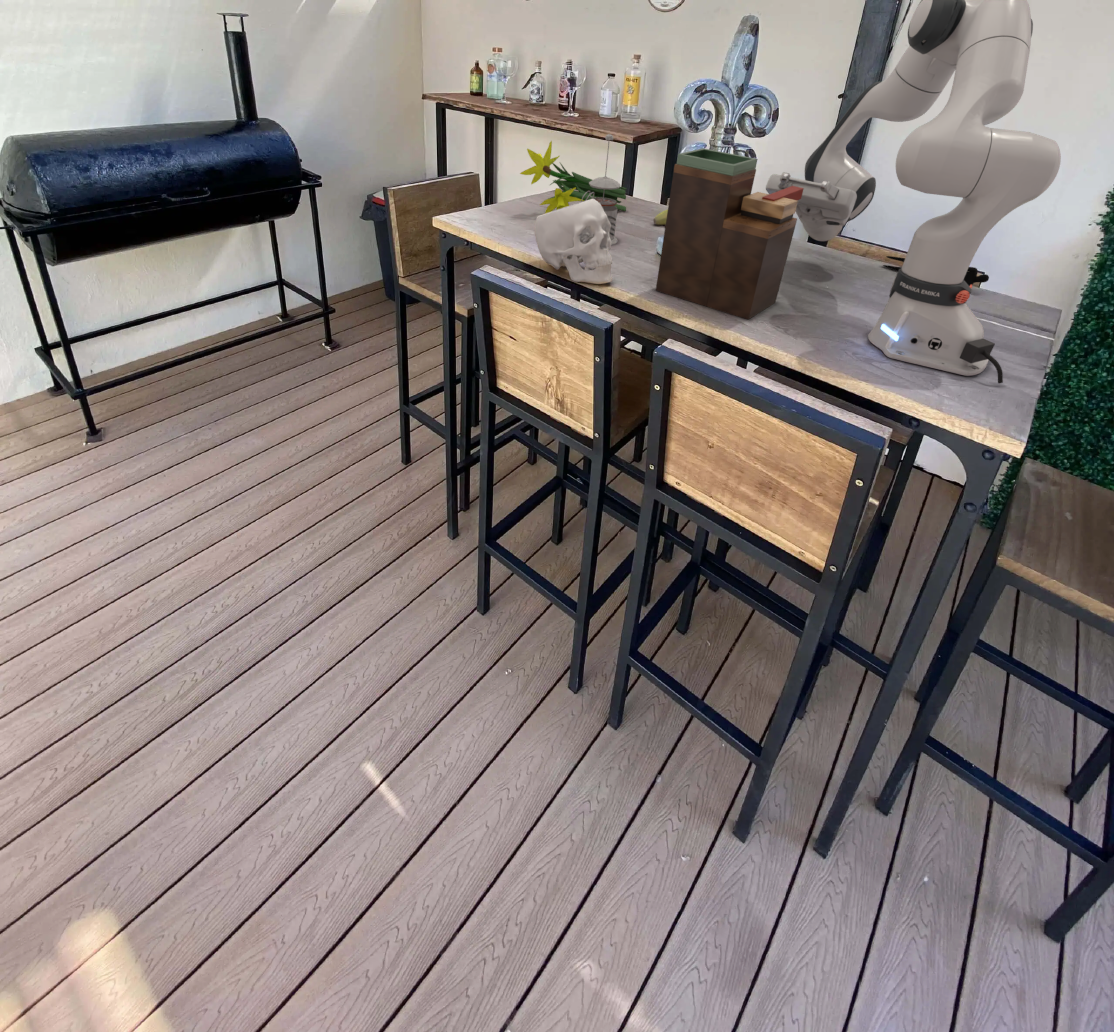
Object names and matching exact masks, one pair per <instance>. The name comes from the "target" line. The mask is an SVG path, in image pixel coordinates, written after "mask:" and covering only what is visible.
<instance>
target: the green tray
mask: <svg viewBox="0 0 1114 1032" xmlns="http://www.w3.org/2000/svg"><path fill="white" fill-rule="evenodd" d="M676 164H678V165H683V166H687V167H692V168H697V169H701V170H706V171H711V172H716V173H720V174H725V175H730V176H734V175H738V174H741V173H744V172H748V171H751V170H754V169H756V170H757V165H758V158H756V157H750V156H745V155H741V154H740V155H739V154H735V153H731V152H725V151H719V150H715V149H709V148H705V147H703V148H698V149H694V150H689V151H684V152H681V153H678V154H677V159H676Z"/></svg>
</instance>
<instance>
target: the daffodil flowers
mask: <svg viewBox="0 0 1114 1032" xmlns="http://www.w3.org/2000/svg"><path fill="white" fill-rule="evenodd" d="M552 149H553V141H552V140H550V142H549V144H548V147H547V149H546V151H545V153H544V156H542V154H541V153H537V152H535V151H533V150H531V149H530V148H527V149H526V151H527V154H528V155H529V158H530V159H531V161H532V162H533V163H534V164H535V165H534V166H531V167H529V168H527V169H524V170H523V171H521V172H520V173H519V174H520V175H524V176H532V175H533V178H532V180H531V183H530V185H533V184H535V183H538V182H539V180H540V179H541V178H542V176H544V177H545V178H547V179H550V177H555V178H557V179H553V180H552V182H551V183H550V184H549V186H551V185H553V184H556V185H557V186H558V187H555V188H554V196H551V197H548V198H547V199H544V200H543V201H542V202H541V203H539V206H545V205H547V207H546V209H545V211H544V214H546V213H549V212H552V211H555V210H558V209H561V208H564V207H567V206H570V203H572V202H574V203H575V202H581V200H582V197H583V195H584V194H585V193H586V192H587V191H590V192H591V193H592V192H594V193H592V194H591V196H592V197H593V194H594V197H593V198H595V197H599V198H600V197H603V193H604V198H608V199H613V200H616V201H617V204H616V205H613V206H615V207H617V211H619V210H620V211H623V212H627V206H625V205H621V203H622V201H621V200H618V198H619V199H622V200H626V199H627V195H626V190H628V188H627V187H623V186H620V188H618V189H610V190H607V189H605V191H604V189H597V188H593V187H591V186H590V185H589V182H590V181H592V180H593V179H592V178H589V177H587V176H584V175H581V174H578V173H577V172H574V171H571V174H570V173H569V172H568V171H567V169H566V168H565V166H564V165H563V164H562V162H559V164H560V166H561V168H560V167H559V166H558V165H557V164H555V162H556V161H557V160H558V159H559V157H560V156H561V155H558V156H555V157H552V158H551V156H552ZM551 165H552V166H553V167H554V168H555V170H557V171H558V172H557V171H555V170H553V169H551ZM590 192H587V193H586V194H585V196H584V197H583V200H582V202H583V201H585V200H586V199H587V197H588V195H589V194H590ZM592 197H590V196H589V197H588V199H587V200H590V199H591V198H592Z"/></svg>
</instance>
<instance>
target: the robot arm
mask: <svg viewBox="0 0 1114 1032" xmlns="http://www.w3.org/2000/svg"><path fill="white" fill-rule="evenodd" d="M1033 30H1034V22H1033V19H1032V15H1031V8H1030V3H1029V2H1028V0H920V2H919V4H917V6H916V9H915V10H914V11H913V14H912V16H911V19H910V22H909V25H908V28H907V42H908V46H907V48H906V50H904V51H905V52H904V53H903V54H902V56H901V57H900V59H899V61H898V62H897V64H896V65H895V67H894V69H893V70H892V71H891V73H889V75H888V76H887V77H886V78H884V79H883V80H882V81H875V82H873V83H871V84H870V85H869V86H868V87H867V88H866V89H864V91H862V93H860V95H859V96H858V97H856V99H855V101H853V103H852V105H850V107H849V108H848V109H847V111H846V112H845V113H844V115H843V116H842V117H841V119H840V120H839V121H838V123H837V124H836V125H835V126H834V128H833V129H832V130H831V131H830V133H829V134H828V135H827V137H826V138H825V139H824V141H822V142H821V144H820V145H819V146H818V147H817V148H816V149H815V150H814V151H813V152H812V153H811V155H810V156H809V157H808V158H807V160H806V162H805V164H804V179H800V178H796V177H791V174H790V173H789V172H784V171H783V172H782V173H781V174H776V173H773V174H771V175H770V176H769V178H768V180H767V182H766V185H765V191H766V192H767V194H772V193H775V192H777V191H780V190H783V189H786V188H788V187H791V186H796V187H800V188H804V189H803V193H802V197H801V199H800V200H797V201H798V203H797V207H796V211H795V214H796V215H797V218H798V220H799V221H800V223H801V224H802V227H803V229H804V230H805V232H806V233H807V234H808V236H809V237H810V238H811V239H813V240H815V241H818V242H829V241H830V240H833V239H834V238H836V237H837V236H838V235H839V234H840V233H841V231H842V229H843V227H844V226H845V225H846V224H847V223H848V222H850V221H853V220H854V219H856V218H857V217H858V216H860V215H861V214H862V213H863V212H864V211H866V209H867V208H868V206H869V205H870V204H871V203H872V201H873V199H874V197H875V192H876V188H877V180H876V178H875V177H874V176H873V175H872V174H871V173H870V172H869V171H868V170H867V169H865V168H864V167H863V166H862V165H860V164H859V162H857V161H855V160H854V159H853V158H852V156H850V155H849V154H848V152H847V149H846V148H847V145H848V144H849V143H850V142H851V140H852V139H853V138H854V137H855V135H856V134H857V133H858V132H859V130H860V129H861V128H862V127H863V125H865V123H867V121H868V120H869V119H871V118H873V119H879V120H883V121H888V122H895V123H904V122H911V121H914V120H917V119H919V118H921V117H922V116H924V115H925V114H927V112H928V111H929V110H930V109H931V108H932V106H933V105H934V104H935V103H936V101H937V100H938V98H939V97H940V95H941V94H942V92H943V91H944V89H945V88H946V87H947V85H948V83H949V81H950V80H951V78H952V76H953V75H954V77H953V82H952V87H951V89H950V94H949V97H948V100H947V102H946V104H945V105H944V108H942V110H941V111H940V112H939V113H938V114H937V115H936V116H935V117H934V118H932V119H931V120H929V121H927V122H925V123H924V124H921V125H919V126H918V127H916V128H915V129H914V130H912V131H911V132H910V133H909V134H908V135H907V136H906V137H905V139H903V142H902V143H901V145H900V147H899V149H898V151H897V153H896V158H895V174H896V177H897V180H898V182H899V183H900V185H901V186H903V187H906V188H909V189H911V190H914V191H916V192H920V193H924V194H928V195H936V196H938V195H939V196H945V197H954V198H962V199H961V200H960V202H959V203H958V204H957V205H956V206H955V207H954V208H953V209H951V210H950V211H948V212H947V213H944V214H941V215H938V216H934V217H931V218H930V219H928V220H926V221H925V222H923V223H922V224H921V225H920V226H919V227H917V228H916V230H915V231H914V233H913V236H912V239H911V241H910V244H909V247H908V249H907V252H906V255H905V257H904V258H905V260H904V262H902V266H900V267H901V268H900V269H899V270H898V271H897V272H896V274H895V276H894V279H893V282H892V285H891V287H890V290H889V292H890V293H889V295H888V296H889V297H888V300H887V303H886V305H885V307H884V308H883V310H882V312H881V314H880V316H879V318H878V320H877V321H876V323H875V325H874V326H873V328H871V330H870V332H869V333H868V335H867V338H868V340H869V342H870V343H871V344H872V345H874V346H875V347H876V348H877V349H879V350H881V351H882V353H883V354H884V355H885V356H886V357H887V358H890V359H892V360H898V361H901V362H906V363H910V364H914V365H919V366H923V367H927V368H931V369H935V370H940V371H944V372H947V373H952V374H957V375H961V376H965V377H970V376H976V375H979V374H981V373H982V372H984V370H986V368H987V366H988V363H989V362H990V363H991V364H992V365H993V367H994V368H995V370H996V373H997V384H1002V383H1004V372H1003V369H1002V367H1001V365H1000V363H999V362H998V361H997V359H996V358H994V357H993V356H992V355H991V353H992V352H993V349H994V347H995V345H996V343H995V342H992V341H990V340H988V339H985V338H984V336H985V330H984V326H983V324H982V323H981V321H980V320H979V319H978V318H977V316H976V315H975V314H974V313H973V311H972V310H971V308H970V307H969V305H967V302H968V300H969V298H970V295H971V293H972V289H973V285H972V284H971V285H970V286H969V285H968V284H967V283H966V282H965V281H964V280H963V279H964V277H965V275H966V272H968V271H967V270H968V268H969V267H971V266H970V265H971V264H972V261H973V259H974V257H975V256H976V253H977V251H978V249H979V247H980V245H981V244H982V242H983V241H984V239H985V238H986V236H987V235H988V233H989V232H991V230H992V229H994V228H995V226H996V225H997V224H998V223H999V222H1000V221H1001V220H1002V219H1003V218H1004V217H1006V216H1007V215H1009V214H1010V213H1011V212H1013V211H1014V210H1016V209H1017V208H1019V207H1021V206H1023V205H1025V204H1027V203H1029V202H1031V201H1033V200H1036V199H1037V198H1038V197H1040V196H1041V195H1042V194H1044V193H1045V192H1046V191H1047V190H1048V189H1049V188H1050V186H1051V185H1052V184H1053V183H1054V181H1055V179H1056V177H1057V175H1058V174H1059V170H1060V167H1061V162H1062V161H1061V159H1062V156H1061V150H1060V147H1059V144H1058V142H1057V141H1056V140H1053V139H1051V138H1048V137H1046V136H1043V135H1041V134H1037V133H1034V132H1031V131H1024V130H1013V129H1005V128H994V127H989V126H988V125H990V124H993V123H995V122H996V121H998V120H1001V118H1003V117H1005V116H1006V115H1007V114H1009V113H1010V112H1011V111H1013V110H1014V108H1016V106H1017V105H1018V103H1020V100H1021V99H1022V97H1023V94H1024V91H1025V83H1026V79H1027V73H1028V72H1027V71H1028V65H1029V58H1030V52H1031V45H1032V44H1031V43H1032V36H1033Z"/></svg>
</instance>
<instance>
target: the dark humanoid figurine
mask: <svg viewBox="0 0 1114 1032" xmlns="http://www.w3.org/2000/svg"><path fill="white" fill-rule="evenodd" d="M885 258H887V259H890V260H893V261H898V262H901V263H904V260H905V258H906V257H899V256H892V255H891V256H890V255H886V256H885ZM882 267H884V268H886V269H890V270H894V271H897V272H898V270H899V269H900V268H901V267H902V266H894V265H888V264H883V265H882ZM978 272H979V270H978V268H977V267H973V266H969V268H968V270H967V272H966V275H965V277H964V279H963V280H964V281H965V282H966V283H967V284H968V285H969V286H970V285H971V284H972V286H973V285H974V284H975V283H987V282H988V281H989V279H990V275H988V274H984V273H983V274H980V275H978Z"/></svg>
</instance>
